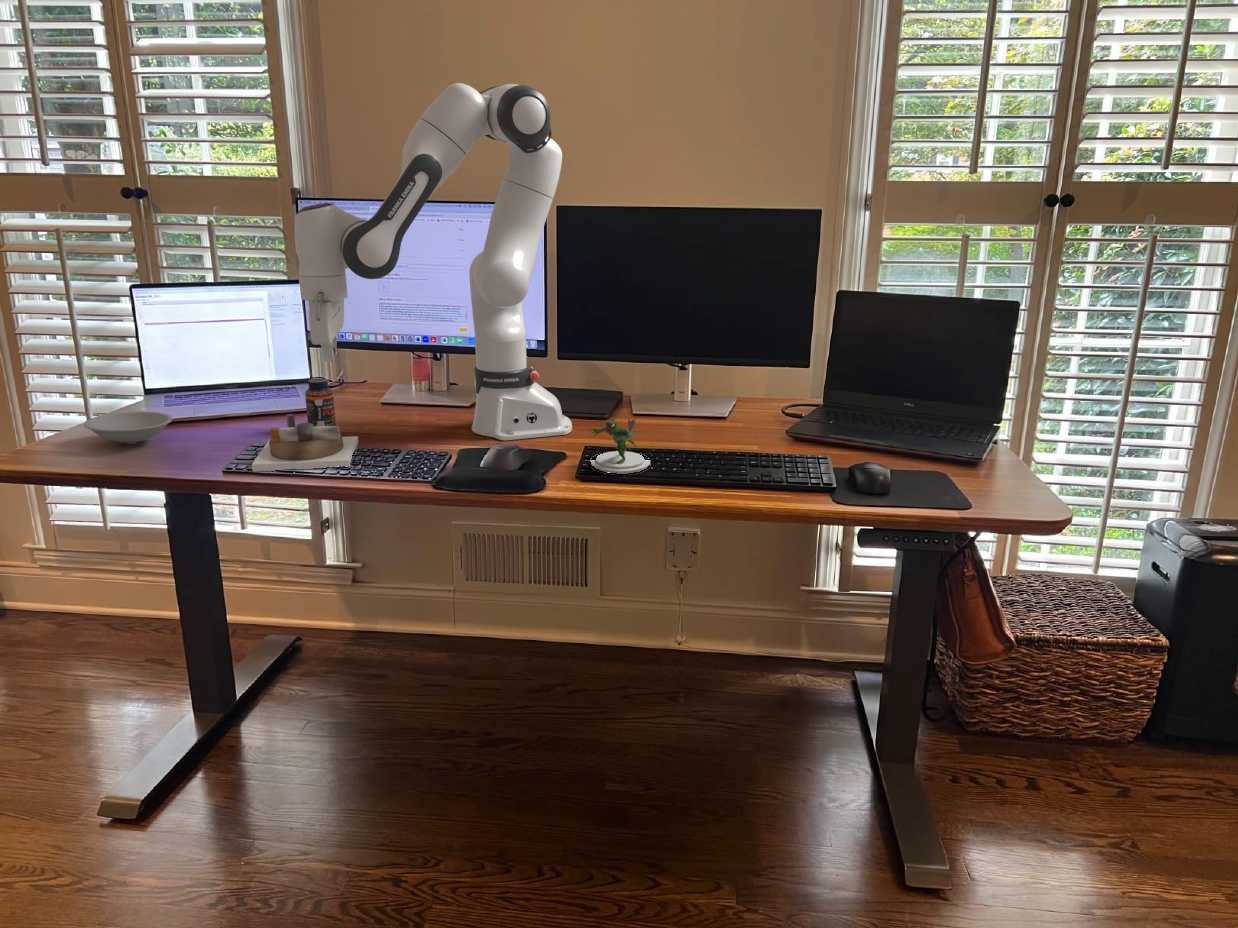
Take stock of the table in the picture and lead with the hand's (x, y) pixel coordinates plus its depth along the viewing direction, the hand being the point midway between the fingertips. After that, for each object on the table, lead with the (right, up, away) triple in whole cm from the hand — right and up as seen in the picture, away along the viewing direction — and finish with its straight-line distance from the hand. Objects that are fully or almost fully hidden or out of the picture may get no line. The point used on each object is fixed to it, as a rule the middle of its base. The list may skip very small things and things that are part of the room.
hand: (330, 358), depth 178 cm
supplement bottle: (-8, -14, +19) cm, 25 cm away
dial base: (-5, -20, +1) cm, 20 cm away
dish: (-45, -17, +9) cm, 49 cm away
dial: (-5, -18, 0) cm, 19 cm away
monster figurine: (+59, -22, -2) cm, 62 cm away
